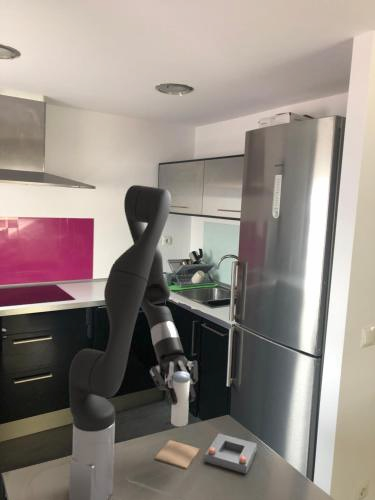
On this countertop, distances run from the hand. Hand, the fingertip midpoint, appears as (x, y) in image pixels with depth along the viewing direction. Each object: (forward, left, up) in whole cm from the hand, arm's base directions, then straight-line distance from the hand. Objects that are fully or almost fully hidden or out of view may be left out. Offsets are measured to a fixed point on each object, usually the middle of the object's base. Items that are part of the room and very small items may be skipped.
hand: (183, 401), depth 104 cm
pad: (+1, +1, -16) cm, 16 cm away
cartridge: (+1, +1, -6) cm, 7 cm away
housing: (+7, -12, -16) cm, 21 cm away
